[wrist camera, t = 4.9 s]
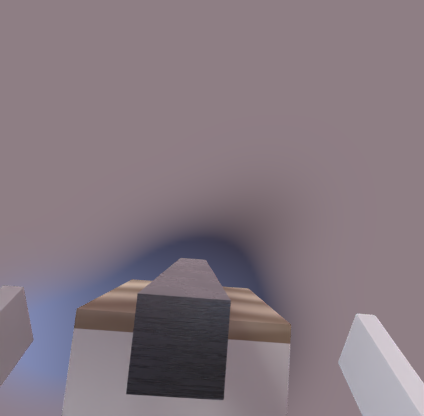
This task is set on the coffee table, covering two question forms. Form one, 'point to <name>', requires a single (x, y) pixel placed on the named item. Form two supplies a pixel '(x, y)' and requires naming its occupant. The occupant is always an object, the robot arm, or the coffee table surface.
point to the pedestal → (173, 406)
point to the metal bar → (180, 334)
